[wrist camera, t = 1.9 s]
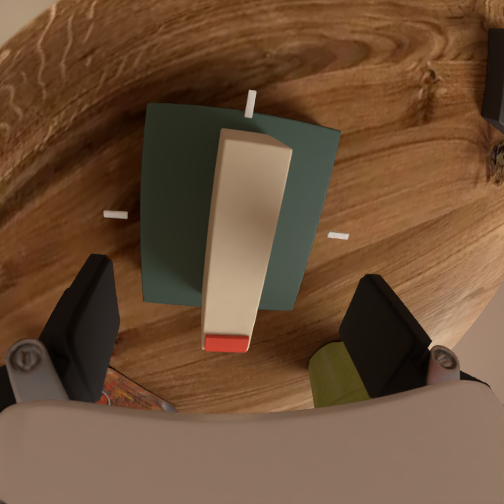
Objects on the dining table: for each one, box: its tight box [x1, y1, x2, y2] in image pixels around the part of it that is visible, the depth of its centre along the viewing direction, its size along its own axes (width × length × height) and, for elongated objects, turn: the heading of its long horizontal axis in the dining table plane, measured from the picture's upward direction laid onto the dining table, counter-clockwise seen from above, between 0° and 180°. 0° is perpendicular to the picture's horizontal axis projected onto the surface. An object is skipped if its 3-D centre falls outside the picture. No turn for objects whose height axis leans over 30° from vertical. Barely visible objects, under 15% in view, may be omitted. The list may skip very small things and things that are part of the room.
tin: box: [95, 368, 178, 412], centre depth 23 cm, size 15×3×8 cm, turn 33°
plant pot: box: [308, 341, 372, 408], centre depth 24 cm, size 9×9×9 cm
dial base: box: [104, 90, 349, 311], centre depth 17 cm, size 14×14×3 cm
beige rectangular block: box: [201, 128, 292, 352], centre depth 13 cm, size 10×2×5 cm, turn 170°
